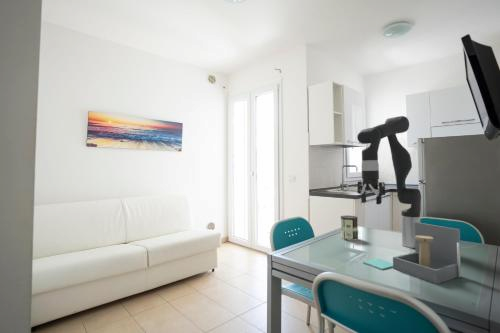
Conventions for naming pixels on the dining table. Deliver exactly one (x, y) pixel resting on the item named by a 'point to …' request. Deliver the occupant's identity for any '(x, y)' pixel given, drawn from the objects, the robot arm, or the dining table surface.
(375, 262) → the pad
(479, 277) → the dining table surface
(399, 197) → the robot arm
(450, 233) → the case
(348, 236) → the coffee can
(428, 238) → the handle
